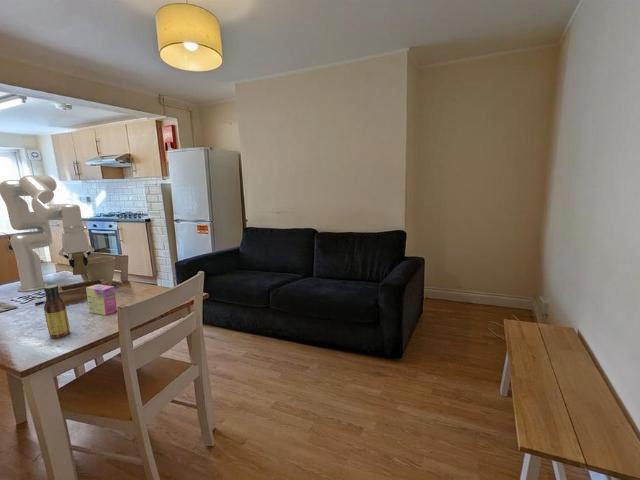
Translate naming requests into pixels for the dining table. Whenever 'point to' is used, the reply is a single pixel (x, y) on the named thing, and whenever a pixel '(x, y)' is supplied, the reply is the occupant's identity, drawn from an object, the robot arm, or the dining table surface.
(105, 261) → the plant pot
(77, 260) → the olive brown gourd shape
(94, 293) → the box
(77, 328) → the dining table surface
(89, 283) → the walnut well caddy
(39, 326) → the dining table surface
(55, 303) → the sauce bottle
